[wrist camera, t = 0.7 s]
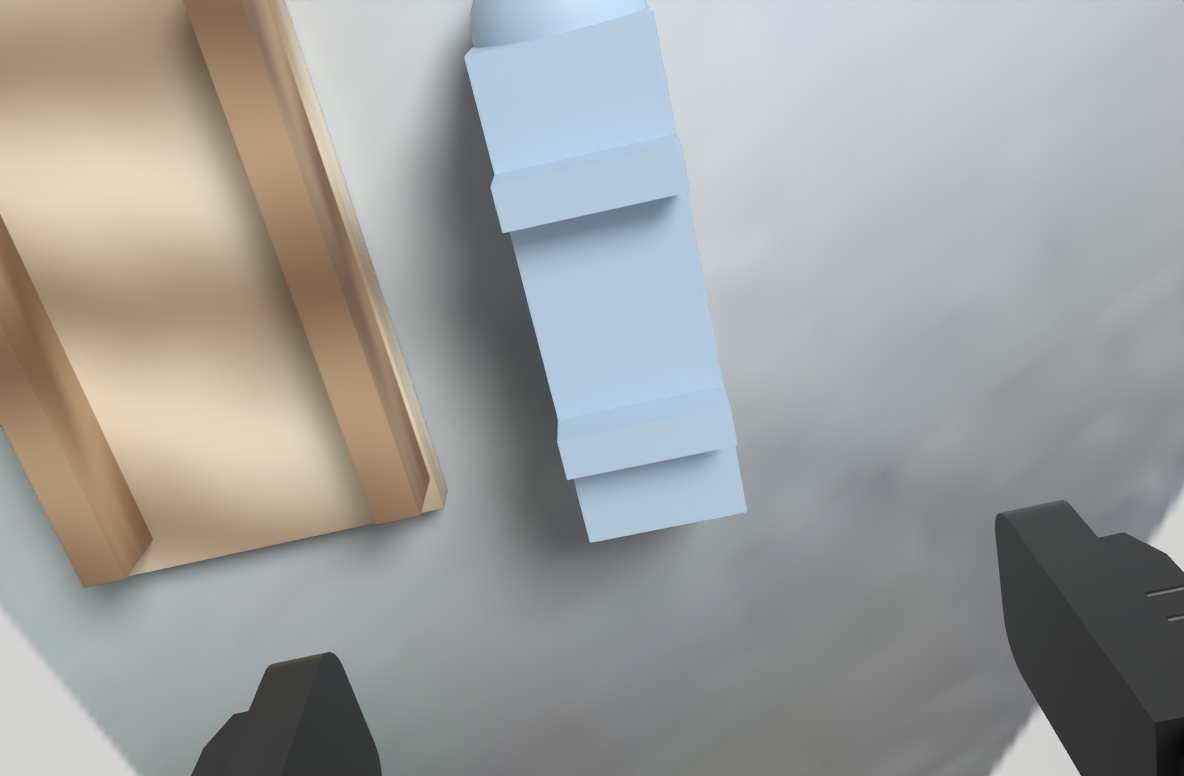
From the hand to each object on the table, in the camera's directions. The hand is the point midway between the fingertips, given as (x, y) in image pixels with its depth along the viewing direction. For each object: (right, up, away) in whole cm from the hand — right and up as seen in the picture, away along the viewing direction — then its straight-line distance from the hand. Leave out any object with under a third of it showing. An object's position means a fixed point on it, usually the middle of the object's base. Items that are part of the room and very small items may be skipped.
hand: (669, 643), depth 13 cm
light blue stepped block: (0, +7, +16) cm, 17 cm away
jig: (-12, +6, +15) cm, 20 cm away
